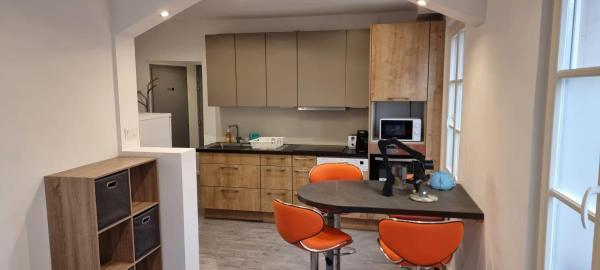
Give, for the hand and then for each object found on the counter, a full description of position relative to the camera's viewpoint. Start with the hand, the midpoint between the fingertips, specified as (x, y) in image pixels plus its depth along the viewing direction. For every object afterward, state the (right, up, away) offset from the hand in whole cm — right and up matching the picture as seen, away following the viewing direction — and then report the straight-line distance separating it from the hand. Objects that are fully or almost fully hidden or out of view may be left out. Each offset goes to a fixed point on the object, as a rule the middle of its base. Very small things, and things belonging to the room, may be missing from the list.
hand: (417, 191), depth 272 cm
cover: (+2, -2, -7) cm, 7 cm away
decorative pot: (+25, -1, +23) cm, 34 cm away
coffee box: (-6, -1, +26) cm, 27 cm away
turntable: (+3, -4, -6) cm, 8 cm away
